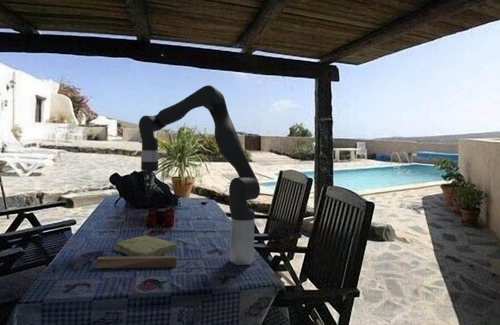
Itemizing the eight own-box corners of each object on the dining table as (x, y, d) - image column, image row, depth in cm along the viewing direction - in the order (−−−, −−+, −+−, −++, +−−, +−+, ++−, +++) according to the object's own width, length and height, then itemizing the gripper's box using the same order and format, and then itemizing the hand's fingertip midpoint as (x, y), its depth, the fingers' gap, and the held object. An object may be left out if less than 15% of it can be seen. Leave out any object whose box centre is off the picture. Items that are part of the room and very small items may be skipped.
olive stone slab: (144, 241, 170) (145, 233, 169) (177, 250, 159) (177, 242, 159) (110, 251, 154) (110, 243, 154) (143, 262, 143) (143, 253, 143)
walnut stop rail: (176, 266, 138) (176, 257, 138) (97, 268, 134) (96, 259, 134) (176, 264, 141) (176, 255, 140) (98, 266, 136) (98, 257, 136)
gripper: (156, 161, 162) (156, 198, 164) (159, 159, 176) (159, 193, 178) (138, 161, 161) (138, 198, 163) (143, 158, 175) (143, 193, 177)
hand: (149, 195), depth 170 cm, fingers open, 7 cm apart
